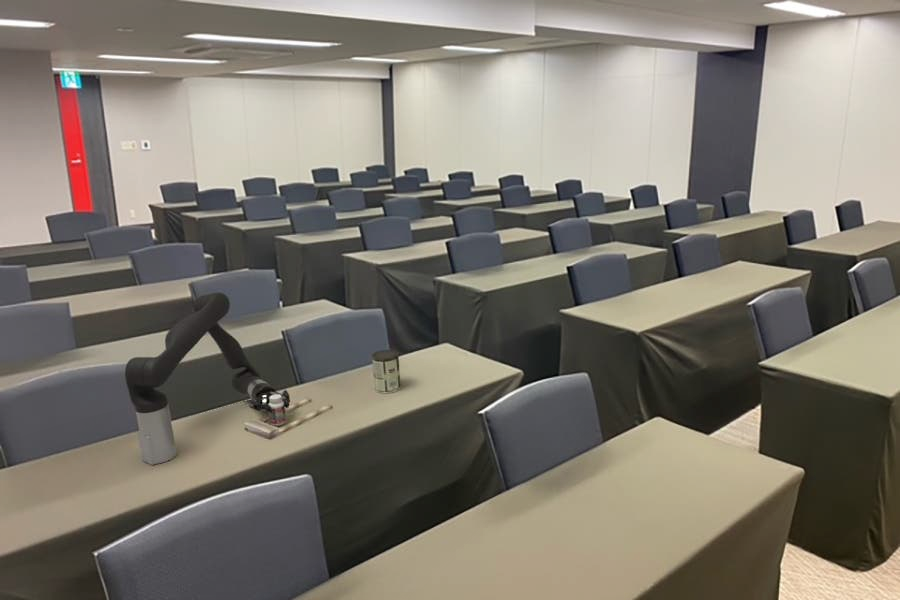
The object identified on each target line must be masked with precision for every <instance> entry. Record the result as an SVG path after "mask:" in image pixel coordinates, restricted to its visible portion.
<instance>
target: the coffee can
mask: <svg viewBox="0 0 900 600" xmlns="http://www.w3.org/2000/svg"><path fill="white" fill-rule="evenodd" d="M371 359H372V361H371V362H372V371H373V372H372V373H373V381H374V391H375V393H378V392H379V394H384V393H387V394H392V392H393V393H396V392H398V391H399V390H401V389H402V386H401V373H400V360H399V351H397V350H394V349H382V350H378V351H375V352H373V353H372V354H371ZM400 388H401V389H400Z"/></svg>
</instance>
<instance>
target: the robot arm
mask: <svg viewBox="0 0 900 600" xmlns="http://www.w3.org/2000/svg"><path fill="white" fill-rule="evenodd" d="M230 304H231V303H230V299H229V297H228V296H227V295H226V294H225V293H223V292H211V293H208V294H203V295H200V296H198V297H196V298H195V299H194V301H193V311H194V313H191V314H190V315H188V316H186V317H184V318H182V319H181V320H179V321H178V322H177V323H176V324H175V325H174V326H172V327H171V329H169V331H168V332H167V334H166V335H165V340H164V341H165V342H164V343H165V349H164V351H163V352H161V353H160V354H159V355H158V356H155V357H154V356H153V357H151V356H146V357H145V356H144V357H143V356H140V357H139V356H137V357H133V358H130V359H129V360H128V362H127V363H126V365H125V369H124V370H125V371H124V375H125V376H124V378H125V382H126V386H127V391H128V393H129V397H130V400H131V404H132V405H133V406H134V410H135V413H136V418H137V424H138V430H139V431H138V432H137V440H138V445H139V449H140V455H141V459H142V461H143V462H145V463H147V464H149V465H151V466H155V465H158V464H162V463H166V462H168V460H169V461H170V460H172V459H174V458H175V457H176V456H177V455H178V453H177V452H178V450H177V445H176V442H175V436H174V435H175V434H174V429H173V424H172V423H173V422H172V418H171V412H170V407H169V406H170V405H169V402H168V397H167V395H166V394H165V393H163V392H161V391H159V390H156V388H160V387H161V386H163V385H165V383H166V382H167V381H168V379H169V378H170V377H171V375H172V374H173V373H174V370H176V369H177V366H178V365H179V363H180V362H182V361H183V360H184V358H185V357H186V355H187V354H188V353H189V352H190V351H191V350H193V348H194V347H196V345H197V344H198V343H199V341H201V339H202V338H203V337H204V336H205V335H206V334H207V333H208V334H209V336H211V338H212V340H214V342H215V344H216V345H217V346H218V348H219V350H220V352H221V353H222V356H223V358H224V360H225V362H226V363H227V366H228V368H229V369H231V370H238V369H241V368H244V369H242V370H241V371H239V372H238V373H236V374H234V375H233V376H232V377H231V380H230V382H231V386H232V388H234V390H235V391H236V392H239V393H242V394H246V395H248V396H249V397H250V398H251V399H249V401H248V402H249V407H250V409H253V410H254V411H257V412H261V411H262V410H263V411H265V412H266V413H268V414H269V413H272V409H271V406H269V405H268V404H269V403H270V401H269V397H270V396H272V395H277V394H278V395H281V398H282V401H283V402H284V405H285V408H289V406H290V403H291V398H290V397H291V396H290V394H289V392H288V390H287V389H285V390H283V391H282V392H278V391H277V390H275V388H274V387H273V386H271V385H270V384H269V383H267V382H266V381H264V380H263V379H261V374H260V371H259V370H258V369H257V368H255V367H254V365H253V364H252V363H251V362H250V360H249V359H248V358H247V356H246V353H245V352H244V350H243V347H242V345H241V344H240V342H239V341H238V340H237V339H236V338H235V337H234V336H233V335H232V334H230V333H229V332H227V331H226V330H225V329H224V328H223V327H222V326H221V325H220V324H219V323H218V322H219V321H221V320H222V319H223V318H225V317H226V315H227V314H228V313H229V310H230V306H231V305H230ZM154 464H155V465H154Z"/></svg>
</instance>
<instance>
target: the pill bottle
mask: <svg viewBox="0 0 900 600" xmlns="http://www.w3.org/2000/svg"><path fill="white" fill-rule="evenodd" d="M269 401H270V403H269V404H268V405H269V406H271V409H272V413H269V412H268V416H269V417H270V421H269V422H270V424H269V425H272V426H274V427H278V426H282V425H284V424H286V422H287V417H286V414H287V413H286V414H285V408H286V407H285V405H284V402H283V401H282V398H281V395H278V394H277V395H272V396H270V397H269Z"/></svg>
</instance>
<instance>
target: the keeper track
mask: <svg viewBox="0 0 900 600" xmlns="http://www.w3.org/2000/svg"><path fill="white" fill-rule="evenodd" d="M311 402H312V399H311V398H309V397H306V398H303V399H302V400H300V401H298V402H295V403H294V404H291V405H289V408H286V407H285V414H289V413H290V412H292V411H294V410H296V409H299V408H300V407H303V406H305V405H307V404H309V403H311ZM331 408H332V409H333V405H331V404H325V405H324V406H323V407H321V408H319V409H316V410H314V411H313V412H312V411H311V413H309V414H306V415H304V416H302V417H300V418H298V419H297V420H294V421H292V422H290V423H288V424H286V425H284V426H282V427H280V428H279V427H278V426H274V425H271V424H269V422H270V417H269V415H268V416H266V417H264V418H262V419H256V418H252V419H250V420H248V421H246V422H244V423H243V427H244V431H246V432H249V433H252V434H254V435H257V436H259V437H262V438H264V439H267V440H269V441H270V440H272V439H274V438H276V437H278V436H280V435H282V434H284V433H286V432H289V431H291V430H292V429H294V428H295V427H298V426H300V425H302V424H304V423H306V422H308V421H310V420H312V419H314V418H316V417H318V416H320V415H322V414H324V413H326V412H328V411H329V409H330V410H332V409H331ZM327 410H328V411H327ZM325 411H326V412H325ZM323 412H324V413H323ZM321 413H322V414H321ZM319 414H320V415H319ZM315 416H316V417H315ZM305 421H306V422H305ZM303 422H304V423H303ZM301 423H302V424H301ZM283 432H284V433H283ZM281 433H282V434H281ZM279 434H280V435H279ZM277 435H278V436H277Z"/></svg>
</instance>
